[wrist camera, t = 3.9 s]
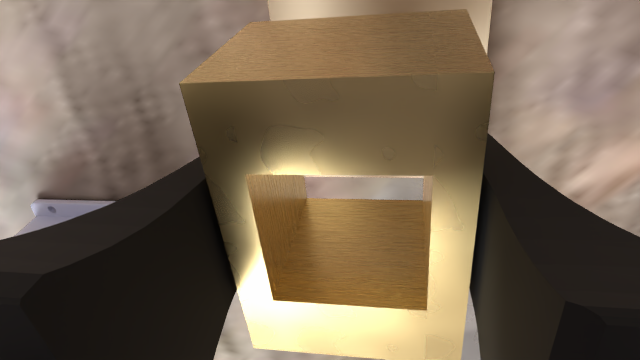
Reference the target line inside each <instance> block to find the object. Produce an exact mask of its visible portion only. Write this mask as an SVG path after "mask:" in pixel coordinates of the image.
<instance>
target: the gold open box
mask: <svg viewBox="0 0 640 360" xmlns="http://www.w3.org/2000/svg"><path fill="white" fill-rule="evenodd" d="M494 73H495V72H494V70H493V68H492V65H491V63H490V61H489V59H488V56H487V54H486V52H485V49H484V47H483V45H482V43H481V40H480V38H479V36H478V34H477V31H476V29H475V27H474V25H473V22H472V20H471V18H470V16H469V13H468V11H467V9H456V10H440V11H424V12H408V13H392V14H376V15H360V16H344V17H328V18H312V19H296V20H280V21H264V22H250V23H249V24H248V25H246V26H245V27H244V28H243V29H242V30H241V31H239V32H238V33H237V34H236V35H235V36H234V37H232V38H231V39H230V40H229V41H228V42H227V43H226V44H224V45H223V46H222V47H221V48H220V49H219V50H217V51H216V52H215V53H214V54H213V55H212V56H210V57H209V58H208V59H207V60H206V61H205V62H203V63H202V64H201V65H200V66H199V67H198V68H196V69H195V70H194V71H193V72H192V73H191V74H189V75H188V76H187V77H186V78H185V79H184V80H182V81H181V82H180V83H179V85H180V88H181V92H182V95H183V99H184V102H185V106H186V110H187V113H188V117H189V120H190V124H191V127H192V131H193V134H194V138H195V141H196V145H197V148H198V152H199V156H200V159H201V163H202V166H203V170H204V173H205V177H206V180H207V184H208V187H209V191H210V195H211V198H212V202H213V205H214V209H215V212H216V216H217V219H218V223H219V226H220V230H221V234H222V237H223V241H224V244H225V248H226V251H227V255H228V258H229V262H230V265H231V269H232V273H233V276H234V280H235V283H236V287H237V290H238V294H239V297H240V301H241V304H242V308H243V312H244V315H245V319H246V322H247V326H248V329H249V333H250V336H251V340H252V343H253V347H254V348H260V349H272V350H283V351H294V352H306V353H317V354H329V355H340V356H351V357H363V358H374V359H385V360H461V355H462V346H463V338H464V329H465V321H466V312H467V303H468V295H469V286H470V278H471V269H472V261H473V252H474V244H475V235H476V227H477V218H478V209H479V201H480V192H481V184H482V175H483V167H484V158H485V150H486V141H487V133H488V124H489V115H490V107H491V98H492V90H493V81H494ZM304 175H393V176H424V181H423V201H422V200H368V199H314V198H307V195H306V188H305V180H304Z"/></svg>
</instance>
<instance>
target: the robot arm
mask: <svg viewBox="0 0 640 360" xmlns="http://www.w3.org/2000/svg"><path fill="white" fill-rule="evenodd" d="M31 209H32V211H33V212H34V214H35V216H36V217H35V218H34V219H33V220H32V221H31V222H29V223H28V224H27V225H26V226H25V227H24V228H23V229H22V230H20V231H19V232H18V233H17V234H16V235H15V236H14V237H10V238H7V239H3V240H0V360H213V359H214V355H215V352H216V348H217V345H218V341H219V338H220V335H221V332H222V329H223V325H224V322H225V319H226V316H227V313H228V310H229V307H230V305H231V302H232V299H233V297H234V295H235V292H236V290H237V287H236V283H235V280H234V276H233V273H232V269H231V265H230V262H229V258H228V255H227V251H226V248H225V244H224V241H223V237H222V234H221V230H220V226H219V223H218V219H217V216H216V212H215V209H214V205H213V202H212V198H211V195H210V191H209V187H208V184H207V180H206V177H205V173H204V170H203V166H202V163H201V159H200V157H198V158H196V159H195V160H193V161H192V162H190V163H188V164H187V165H185V166H183V167H182V168H180V169H178V170H176V171H175V172H173V173H171V174H169V175H167V176H166V177H164V178H162V179H160V180H158V181H157V182H155V183H153V184H151V185H150V186H148V187H146V188H144V189H142V190H140V191H138V192H136V193H134V194H131V195H129V196H127V197H125V198H123V199H120V200H118V201H87V200H44V199H38V200H35V201H34V202H33V203H32V204H31ZM469 289H470V294H471V298H472V303H473V307H474V312H475V318H476V324H477V330H478V339H479V349H480V358H481V360H640V237H638V236H636V235H634V234H632V233H630V232H628V231H626V230H624V229H622V228H619V227H617V226H615V225H614V224H612V223H610V222H608V221H606V220H604V219H602V218H600V217H599V216H597V215H595V214H594V213H592V212H590V211H588V210H587V209H585V208H583V207H582V206H580V205H578V204H577V203H575V202H573V201H572V200H570V199H569V198H567V197H566V196H564V195H563V194H561V193H560V192H558V191H557V190H556V189H554V188H553V187H551V186H550V185H549V184H547V183H546V182H544V181H543V180H542V179H540V178H539V177H538V176H537V175H535V174H534V173H533V172H532V171H530V170H529V169H528V168H527V167H525V166H524V165H523V164H522V163H521V162H520V161H518V160H517V159H516V158H515V157H514V156H513V155H512V154H510V153H509V152H508V151H507V150H506V149H505V148H504V147H503V146H502V145H501V144H499V143H498V142H497V141H496V140H495V139H494V138H493V137H492V136H491V135H489V134H488V133H487V141H486V150H485V158H484V167H483V175H482V184H481V192H480V201H479V209H478V218H477V227H476V235H475V244H474V252H473V261H472V269H471V278H470V286H469Z"/></svg>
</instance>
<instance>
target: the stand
mask: <svg viewBox="0 0 640 360" xmlns="http://www.w3.org/2000/svg"><path fill="white" fill-rule="evenodd" d="M492 1H493V0H267V3H268V9H269V15H270V21H280V20H296V19H312V18H328V17H344V16H360V15H376V14H392V13H408V12H424V11H440V10H456V9H467V11H468V13H469V16H470V18H471V20H472V22H473V25H474V27H475V29H476V31H477V34H478V36H479V38H480V40H481V43H482V45H483V47H484V49H485V52H486V54H487V48H488V39H489V29H490V20H491V10H492ZM304 177H401V178H424V176H393V175H304Z"/></svg>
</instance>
